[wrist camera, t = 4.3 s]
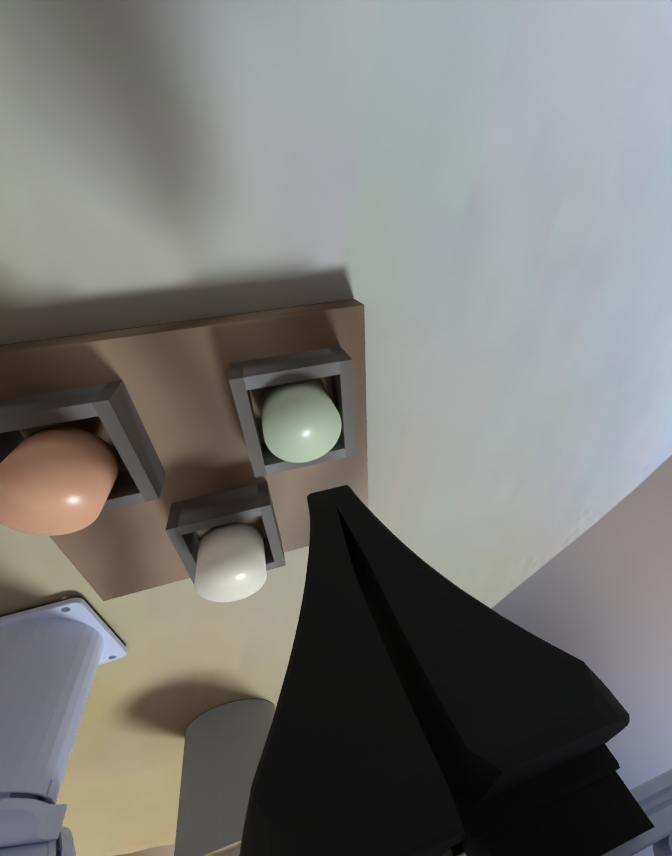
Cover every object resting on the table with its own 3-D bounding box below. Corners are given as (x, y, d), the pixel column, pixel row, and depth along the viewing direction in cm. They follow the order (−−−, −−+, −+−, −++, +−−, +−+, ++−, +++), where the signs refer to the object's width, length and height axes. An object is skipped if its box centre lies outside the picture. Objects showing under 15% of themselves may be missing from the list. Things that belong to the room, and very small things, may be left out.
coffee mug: (165, 736, 36) (144, 888, 27) (237, 691, 35) (238, 835, 27) (245, 747, 43) (248, 870, 35) (306, 711, 42) (324, 828, 34)
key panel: (110, 580, 22) (92, 632, 19) (-62, 353, 13) (-143, 388, 10) (362, 514, 25) (378, 551, 22) (354, 299, 17) (379, 314, 14)
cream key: (208, 570, 20) (205, 609, 18) (189, 531, 18) (184, 569, 16) (268, 554, 20) (271, 590, 18) (256, 515, 18) (259, 549, 16)
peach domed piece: (47, 502, 15) (18, 545, 13) (-4, 436, 13) (-48, 475, 11) (132, 484, 15) (118, 522, 13) (97, 419, 13) (74, 452, 11)
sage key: (267, 442, 17) (271, 469, 15) (253, 381, 15) (255, 403, 14) (331, 429, 18) (343, 453, 16) (326, 368, 16) (338, 388, 14)
